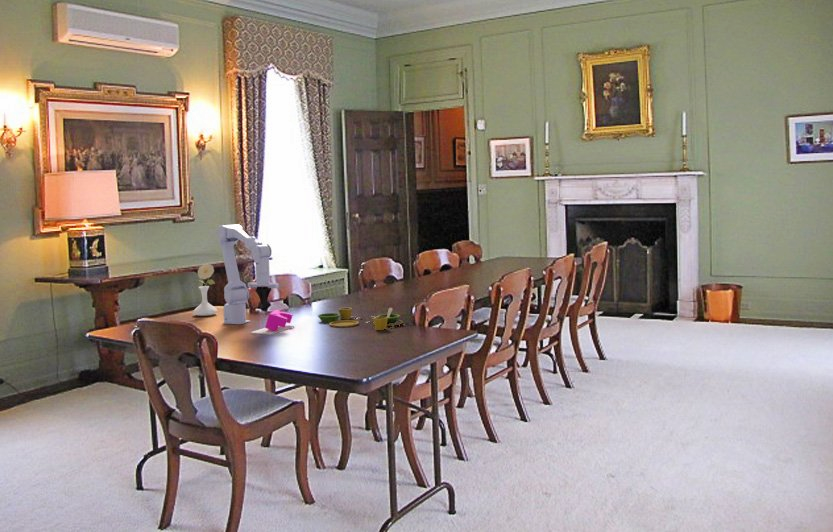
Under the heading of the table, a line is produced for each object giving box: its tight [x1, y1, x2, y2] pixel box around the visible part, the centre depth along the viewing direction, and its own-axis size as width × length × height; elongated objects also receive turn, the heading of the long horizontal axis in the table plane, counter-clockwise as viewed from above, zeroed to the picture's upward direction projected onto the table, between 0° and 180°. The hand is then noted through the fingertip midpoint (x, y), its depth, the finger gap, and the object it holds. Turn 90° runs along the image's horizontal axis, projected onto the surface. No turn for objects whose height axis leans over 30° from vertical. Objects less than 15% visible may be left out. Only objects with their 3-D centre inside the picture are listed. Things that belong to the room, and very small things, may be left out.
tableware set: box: [317, 307, 404, 331], centre depth 354 cm, size 41×28×6 cm
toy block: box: [264, 309, 294, 331], centre depth 345 cm, size 15×6×8 cm
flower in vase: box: [192, 263, 218, 317], centre depth 385 cm, size 13×11×25 cm
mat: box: [250, 325, 295, 336], centre depth 344 cm, size 10×18×1 cm, turn 157°
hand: (264, 304), depth 348 cm, fingers closed
